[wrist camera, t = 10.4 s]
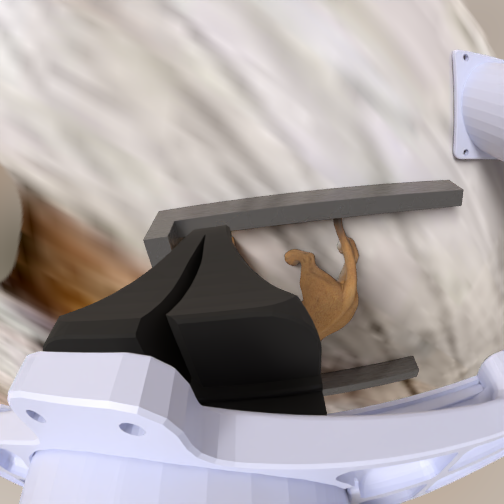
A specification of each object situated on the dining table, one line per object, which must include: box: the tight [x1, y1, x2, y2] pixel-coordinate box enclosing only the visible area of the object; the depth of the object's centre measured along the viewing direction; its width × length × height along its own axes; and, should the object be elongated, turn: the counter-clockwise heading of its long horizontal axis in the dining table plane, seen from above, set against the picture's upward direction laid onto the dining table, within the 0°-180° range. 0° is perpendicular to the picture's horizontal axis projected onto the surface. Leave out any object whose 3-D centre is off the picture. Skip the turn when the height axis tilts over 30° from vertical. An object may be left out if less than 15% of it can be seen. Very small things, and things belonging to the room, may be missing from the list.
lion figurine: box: [285, 218, 359, 341], centre depth 21 cm, size 15×5×9 cm, turn 162°
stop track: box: [143, 180, 463, 396], centre depth 24 cm, size 21×20×4 cm
